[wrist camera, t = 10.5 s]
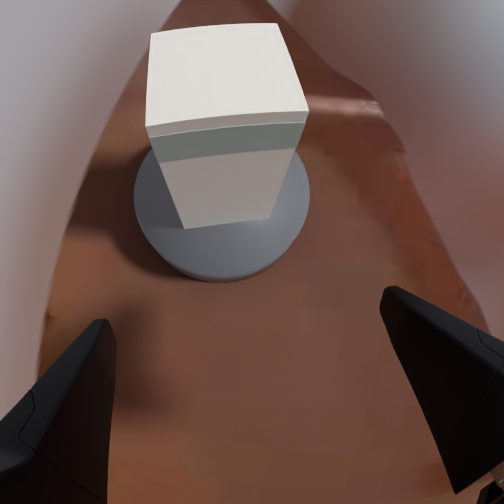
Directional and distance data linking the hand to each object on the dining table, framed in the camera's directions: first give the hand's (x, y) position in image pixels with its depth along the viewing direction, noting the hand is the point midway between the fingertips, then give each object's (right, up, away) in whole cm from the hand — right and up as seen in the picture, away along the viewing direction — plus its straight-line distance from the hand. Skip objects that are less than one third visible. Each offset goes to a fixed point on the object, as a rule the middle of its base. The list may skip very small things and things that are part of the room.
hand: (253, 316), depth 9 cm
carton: (-2, +6, +9) cm, 11 cm away
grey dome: (-2, +5, +12) cm, 14 cm away
